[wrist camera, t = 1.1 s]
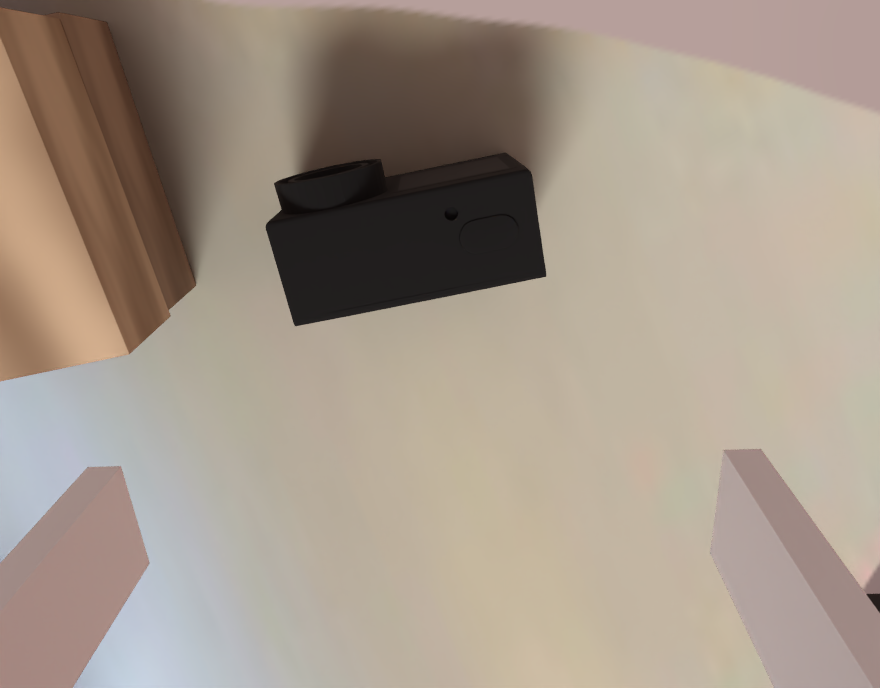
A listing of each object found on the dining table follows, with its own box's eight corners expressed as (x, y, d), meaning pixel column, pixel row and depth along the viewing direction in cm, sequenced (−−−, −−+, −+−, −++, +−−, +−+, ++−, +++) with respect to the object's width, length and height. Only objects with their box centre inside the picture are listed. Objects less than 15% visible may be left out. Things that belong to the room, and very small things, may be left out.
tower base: (6, 321, 34) (-52, 355, 30) (-108, 70, 30) (-195, 67, 25) (198, 283, 34) (166, 311, 29) (110, 22, 29) (58, 12, 25)
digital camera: (506, 125, 31) (529, 135, 24) (524, 239, 33) (550, 277, 26) (288, 170, 31) (253, 192, 25) (318, 280, 33) (293, 327, 27)
